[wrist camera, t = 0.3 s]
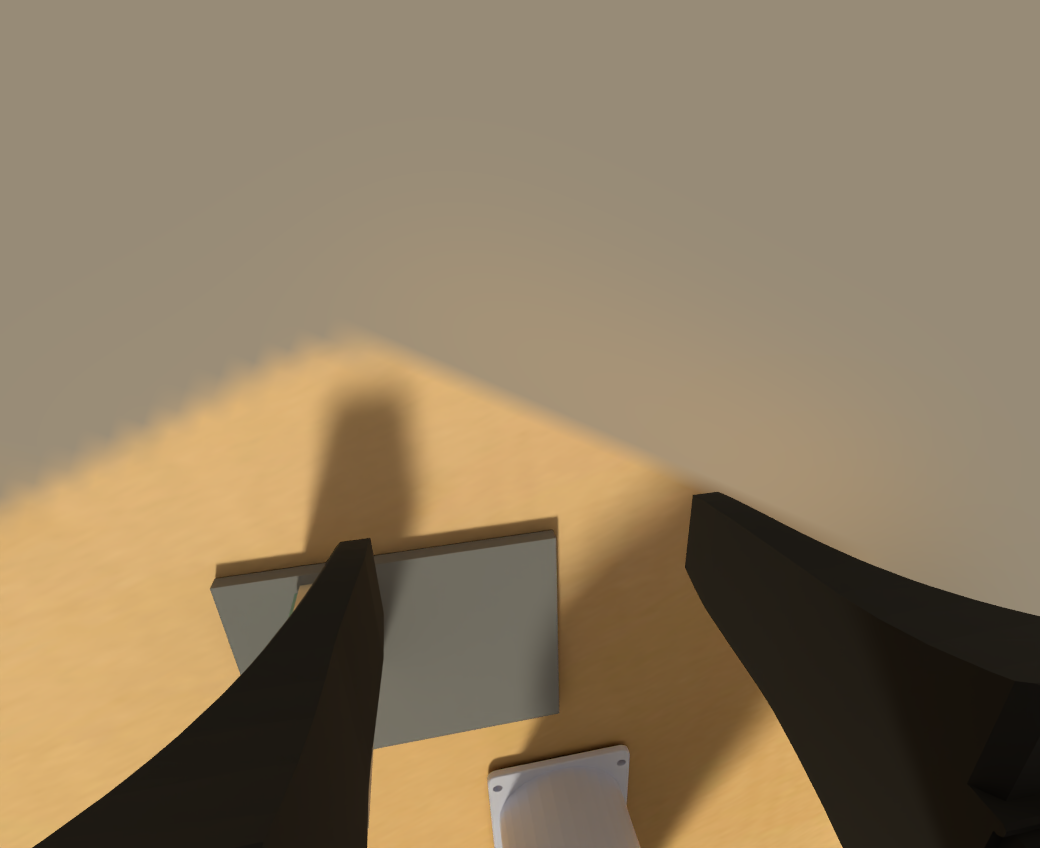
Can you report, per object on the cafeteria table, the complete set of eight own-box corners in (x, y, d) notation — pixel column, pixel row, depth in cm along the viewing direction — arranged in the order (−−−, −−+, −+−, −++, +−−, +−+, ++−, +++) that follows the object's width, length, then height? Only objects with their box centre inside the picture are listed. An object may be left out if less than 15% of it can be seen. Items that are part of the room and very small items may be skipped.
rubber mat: (556, 703, 29) (559, 713, 29) (276, 756, 27) (273, 768, 27) (552, 530, 25) (556, 537, 24) (214, 578, 23) (210, 588, 22)
